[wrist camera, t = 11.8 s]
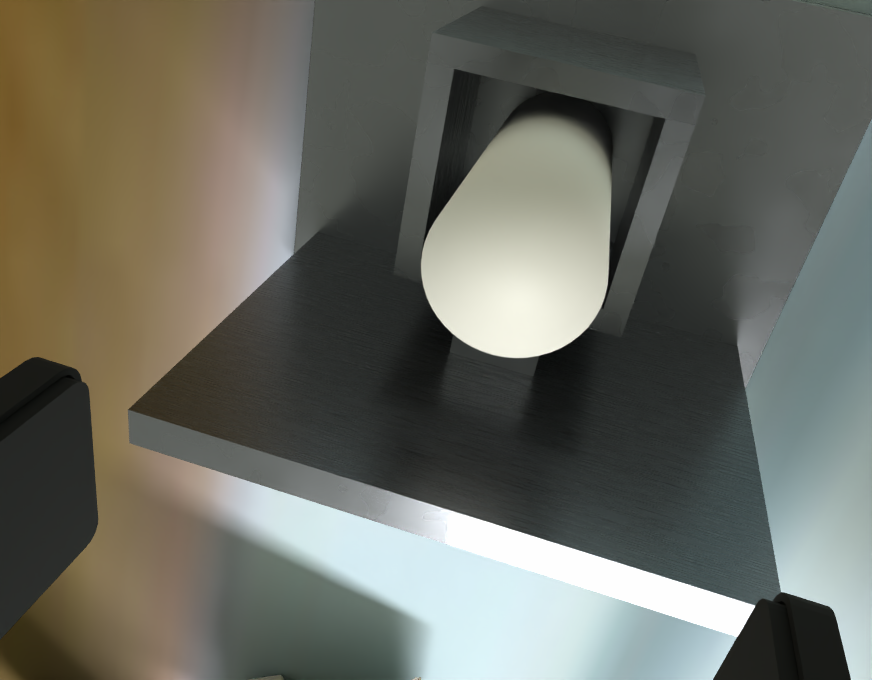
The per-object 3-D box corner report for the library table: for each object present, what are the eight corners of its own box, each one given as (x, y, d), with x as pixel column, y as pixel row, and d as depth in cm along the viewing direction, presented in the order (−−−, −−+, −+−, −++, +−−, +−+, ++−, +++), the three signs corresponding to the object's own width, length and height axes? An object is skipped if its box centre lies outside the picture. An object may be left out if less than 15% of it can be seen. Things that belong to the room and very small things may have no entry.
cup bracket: (736, 391, 33) (783, 691, 20) (300, 269, 36) (100, 469, 23) (906, 22, 25) (1154, 136, 13) (333, -100, 28) (58, -107, 15)
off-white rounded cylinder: (637, 148, 26) (650, 273, 16) (555, 229, 28) (517, 390, 18) (552, 66, 26) (506, 140, 15) (474, 154, 28) (385, 275, 17)
